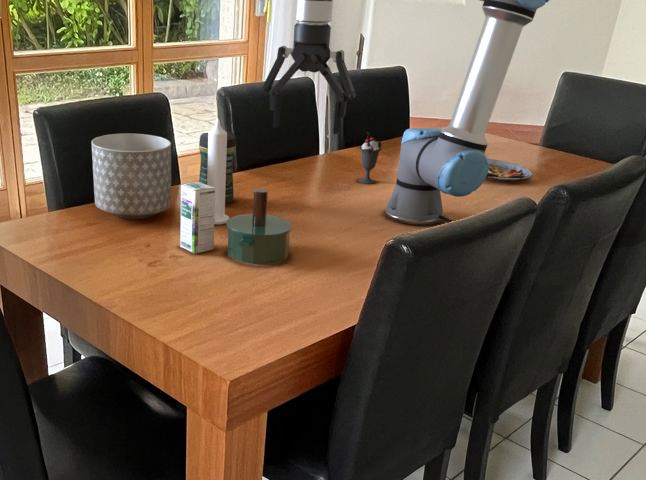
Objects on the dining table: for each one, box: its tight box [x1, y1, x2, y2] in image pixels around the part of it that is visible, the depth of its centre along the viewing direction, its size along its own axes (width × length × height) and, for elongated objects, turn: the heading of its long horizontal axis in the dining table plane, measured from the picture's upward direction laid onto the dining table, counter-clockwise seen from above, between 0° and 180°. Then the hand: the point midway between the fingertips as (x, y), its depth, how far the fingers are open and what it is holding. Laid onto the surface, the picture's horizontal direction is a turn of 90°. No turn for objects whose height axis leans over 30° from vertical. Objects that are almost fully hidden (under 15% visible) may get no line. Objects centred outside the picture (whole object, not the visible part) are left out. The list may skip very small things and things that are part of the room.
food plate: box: [485, 158, 534, 182], centre depth 244 cm, size 25×23×4 cm
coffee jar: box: [198, 130, 237, 204], centre depth 199 cm, size 10×8×19 cm
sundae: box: [358, 131, 382, 185], centre depth 226 cm, size 7×7×15 cm
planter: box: [91, 133, 172, 221], centre depth 185 cm, size 19×19×18 cm
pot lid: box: [225, 188, 293, 238], centre depth 164 cm, size 15×15×9 cm
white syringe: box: [207, 117, 230, 225], centre depth 183 cm, size 7×7×25 cm
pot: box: [227, 228, 291, 265], centre depth 167 cm, size 14×19×7 cm
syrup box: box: [179, 181, 215, 255], centre depth 167 cm, size 6×6×14 cm
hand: (306, 129), depth 163 cm, fingers open, 13 cm apart
